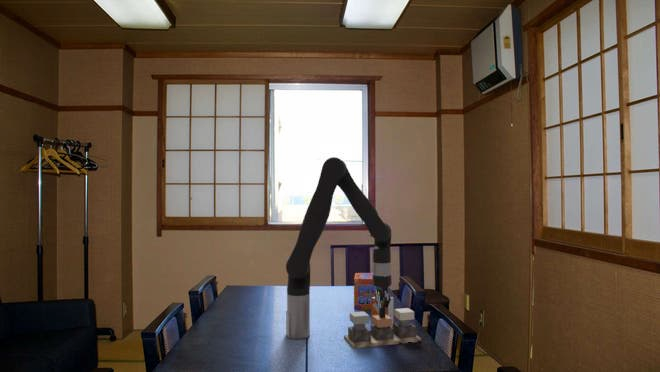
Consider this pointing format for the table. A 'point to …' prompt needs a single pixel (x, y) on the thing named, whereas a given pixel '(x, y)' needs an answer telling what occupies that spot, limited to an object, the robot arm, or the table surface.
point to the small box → (387, 310)
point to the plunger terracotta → (382, 321)
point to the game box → (363, 291)
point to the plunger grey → (359, 320)
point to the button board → (381, 336)
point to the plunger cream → (404, 316)
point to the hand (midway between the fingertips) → (382, 317)
